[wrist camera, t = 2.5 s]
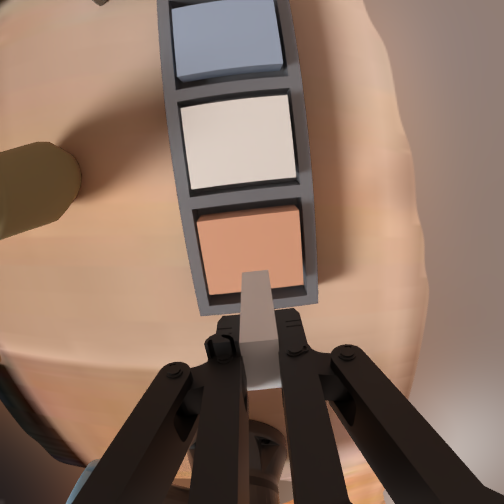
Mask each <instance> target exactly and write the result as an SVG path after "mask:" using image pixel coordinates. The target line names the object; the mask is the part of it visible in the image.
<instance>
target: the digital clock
mask: <svg viewBox="0 0 504 504" xmlns="http://www.w3.org/2000/svg"><path fill="white" fill-rule="evenodd" d="M92 1H94V2H95V3H96V4H97V5H99V6H101V5H103V4H104V3H105V2H106V1H107V0H92Z"/></svg>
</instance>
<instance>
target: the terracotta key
mask: <svg viewBox="0 0 504 504" xmlns="http://www.w3.org/2000/svg"><path fill="white" fill-rule="evenodd" d="M197 227H198V233H199V239H200V245H201V251H202V256H203V262H204V267H205V273H206V278H207V284H208V289H209V294H210V295H214V294H224V293H234V292H241V285H242V272H252V271H261V270H268V272H269V278H270V285H271V288H279V287H288V286H296V285H304V284H303V264H302V247H301V232H300V218H299V210H298V208H297V207H296V206H295V205H294V204H293V205H283V206H274V207H265V208H256V209H247V210H238V211H230V212H222V213H214V214H206V215H201V216H200V217H199V219H198V221H197Z"/></svg>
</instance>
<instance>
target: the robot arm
mask: <svg viewBox="0 0 504 504" xmlns="http://www.w3.org/2000/svg"><path fill="white" fill-rule="evenodd" d="M204 345H205V349H206V353H207V357H208V362H206V363H204V364H203V365H200V366H197V367H193V368H190V367H189V366H188V365H187V364H186V363H183V362H173V363H169V364H167V365H165V366H164V367H163V368H162V369H161V370H160V371H159V373H158V374H157V376H156V377H155V379H154V380H153V382H152V383H151V385H150V386H149V387H148V389H147V390H146V392H145V393H144V395H143V396H142V398H141V399H140V401H139V402H138V404H137V405H136V407H135V408H134V410H133V411H132V413H131V414H130V416H129V417H128V419H127V420H126V422H125V423H124V425H123V426H122V428H121V429H120V431H119V432H118V434H117V435H116V437H115V438H114V440H113V441H112V443H111V444H110V446H109V447H108V449H107V450H106V452H105V453H104V455H103V456H102V458H101V459H96V460H93V461H92V462H90V463H89V464H88V466H87V467H86V468H85V470H84V471H83V473H82V475H81V476H80V478H79V480H78V482H77V483H76V485H75V487H74V489H73V491H72V492H71V494H70V496H69V498H68V500H67V502H66V504H280V502H279V492H278V483H279V480H280V477H281V474H282V470H283V467H284V464H285V460H286V456H287V449H286V441H285V438H284V436H283V435H282V434H281V433H280V432H279V431H278V430H276V429H275V428H273V427H271V426H269V425H267V424H264V423H260V422H256V421H251V420H249V415H248V395H247V389H248V391H249V390H261V389H271V388H281V387H282V398H283V407H284V415H285V424H286V433H287V441H288V450H289V460H290V469H291V478H292V488H293V497H294V504H352V503H351V502H350V500H349V498H348V494H347V489H346V485H345V480H344V476H343V472H342V467H341V463H340V459H339V455H338V450H337V446H336V442H335V438H334V434H333V430H332V426H331V422H330V418H329V414H328V410H327V406H326V402H325V400H328V401H329V404H330V405H331V407H332V408H333V410H334V411H335V413H336V415H337V416H338V418H339V419H340V421H341V422H342V424H343V425H344V427H345V428H346V430H347V432H348V433H349V435H350V436H351V438H352V439H353V441H354V442H355V444H356V445H357V447H358V448H359V450H360V451H361V453H362V455H363V456H364V458H365V459H366V461H367V462H368V464H369V465H370V467H371V468H372V470H373V471H374V473H375V474H376V476H377V477H378V479H379V480H380V482H381V483H382V485H383V486H384V488H385V489H386V491H387V492H388V494H389V495H390V497H391V498H392V500H393V501H394V503H395V504H504V495H502V494H500V493H497V492H495V491H493V490H491V489H489V488H487V487H485V486H484V485H483V484H482V483H481V482H480V481H479V480H478V479H477V477H476V476H475V475H474V474H473V473H472V472H471V471H470V469H469V468H468V467H467V466H466V465H465V464H464V463H463V461H462V460H461V459H460V458H459V457H458V456H457V455H456V453H455V452H454V451H453V450H452V449H451V448H450V447H449V446H448V444H447V443H445V441H444V440H443V439H442V438H441V437H440V436H439V434H438V433H437V432H436V431H435V430H434V429H433V428H432V426H431V425H430V424H429V423H428V422H427V421H426V420H425V419H424V418H423V416H422V415H421V414H420V413H419V412H418V411H417V410H416V409H415V407H414V406H413V405H412V404H411V403H410V402H409V401H408V400H407V399H406V398H405V396H404V395H403V394H402V393H401V392H400V391H399V390H398V389H397V388H396V387H395V385H394V384H393V383H392V382H391V381H390V380H389V379H388V378H387V377H386V376H385V374H384V373H383V372H382V371H381V370H380V369H379V368H378V367H377V366H376V365H375V363H374V362H373V361H372V360H371V359H370V358H369V357H368V356H367V355H366V354H365V353H364V351H363V350H362V349H360V348H359V347H358V346H354V345H348V344H345V345H340V346H338V347H336V348H334V349H333V351H332V352H331V353H321V352H317V351H314V350H313V349H311V347H310V346H309V345H308V343H307V340H306V336H305V332H304V329H303V326H302V321H301V318H300V314H299V312H297V311H296V310H295V309H294V308H290V309H282V310H274V306H273V299H272V292H271V285H270V278H269V272H268V270H261V271H252V272H242V285H241V309H240V315H231V316H222V318H221V319H220V320H219V321H218V324H217V331H216V334H214V335H212V336H210V337H209V338H208V339H206V341H205V343H204ZM186 453H187V455H188V459H189V462H190V466H191V470H192V476H191V485H190V488H186V487H183V486H179V485H176V484H173V483H172V482H173V480H174V478H175V476H176V474H177V472H178V470H179V468H180V465H181V463H182V461H183V459H184V457H185V455H186Z"/></svg>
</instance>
